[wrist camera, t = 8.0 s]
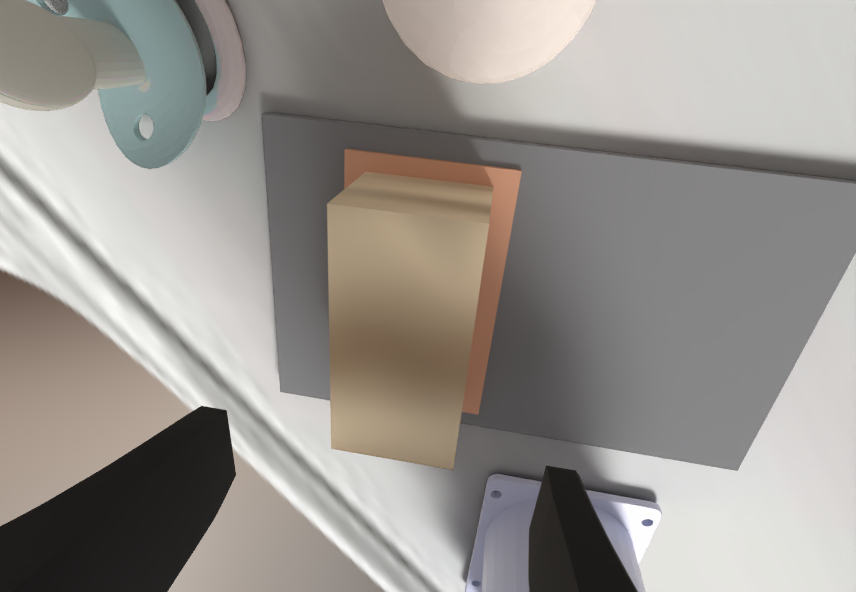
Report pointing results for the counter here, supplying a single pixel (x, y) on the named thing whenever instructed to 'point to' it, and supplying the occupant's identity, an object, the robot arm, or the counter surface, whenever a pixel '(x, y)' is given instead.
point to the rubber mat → (595, 284)
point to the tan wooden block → (403, 313)
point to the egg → (487, 34)
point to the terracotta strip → (496, 246)
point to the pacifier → (123, 67)
